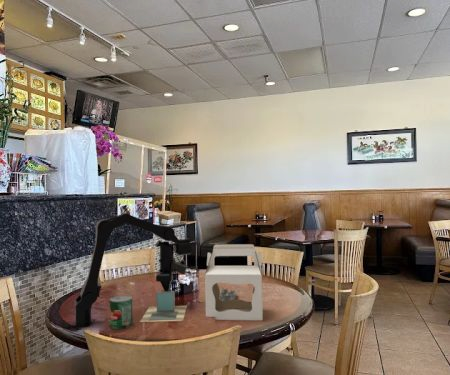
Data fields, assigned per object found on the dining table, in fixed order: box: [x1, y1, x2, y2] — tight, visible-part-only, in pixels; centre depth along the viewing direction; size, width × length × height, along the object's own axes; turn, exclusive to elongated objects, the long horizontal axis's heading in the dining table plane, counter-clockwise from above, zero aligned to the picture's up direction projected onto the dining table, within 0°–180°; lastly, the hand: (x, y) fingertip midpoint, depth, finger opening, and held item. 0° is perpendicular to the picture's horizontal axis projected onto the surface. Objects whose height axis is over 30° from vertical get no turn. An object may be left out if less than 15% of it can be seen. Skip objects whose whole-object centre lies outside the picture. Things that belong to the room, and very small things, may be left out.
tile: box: [156, 290, 176, 312], centre depth 142 cm, size 2×7×8 cm, turn 91°
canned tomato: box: [109, 294, 133, 334], centre depth 127 cm, size 8×8×11 cm
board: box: [139, 305, 188, 323], centre depth 140 cm, size 18×16×1 cm
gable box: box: [204, 243, 264, 321], centre depth 141 cm, size 22×13×28 cm, turn 84°
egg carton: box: [219, 287, 238, 301], centre depth 162 cm, size 11×8×4 cm
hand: (167, 293), depth 147 cm, fingers closed
